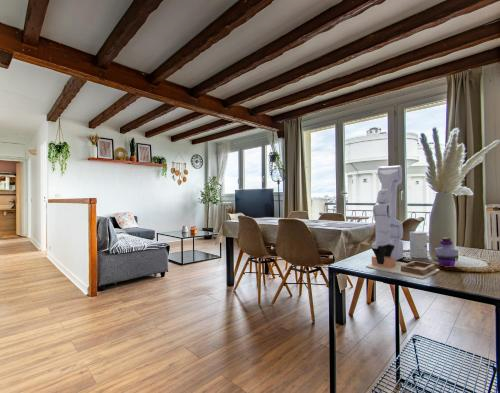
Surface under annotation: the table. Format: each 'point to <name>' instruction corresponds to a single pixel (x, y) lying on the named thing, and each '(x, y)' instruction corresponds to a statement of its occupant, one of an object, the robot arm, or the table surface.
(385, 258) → the salmon orange block
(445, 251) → the potion bottle
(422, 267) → the tray
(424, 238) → the skincare box
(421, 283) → the table surface
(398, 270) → the mat
